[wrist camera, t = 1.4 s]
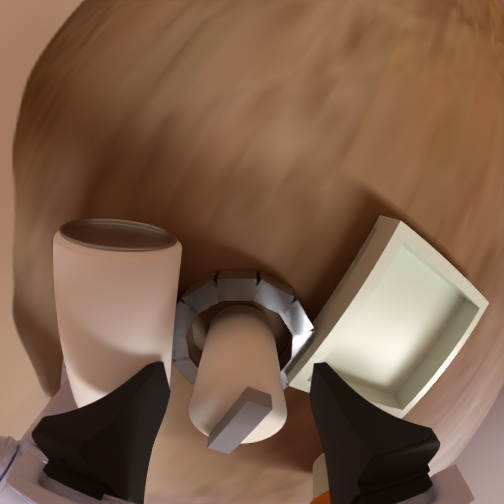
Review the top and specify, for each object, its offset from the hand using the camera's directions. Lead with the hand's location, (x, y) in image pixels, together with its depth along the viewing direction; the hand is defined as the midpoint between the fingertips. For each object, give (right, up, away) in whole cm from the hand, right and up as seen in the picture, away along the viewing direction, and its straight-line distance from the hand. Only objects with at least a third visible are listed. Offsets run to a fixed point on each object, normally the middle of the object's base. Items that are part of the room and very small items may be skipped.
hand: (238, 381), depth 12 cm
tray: (+10, +1, +4) cm, 11 cm away
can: (-6, +7, 0) cm, 9 cm away
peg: (0, +1, +4) cm, 5 cm away
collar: (0, +1, +4) cm, 5 cm away
